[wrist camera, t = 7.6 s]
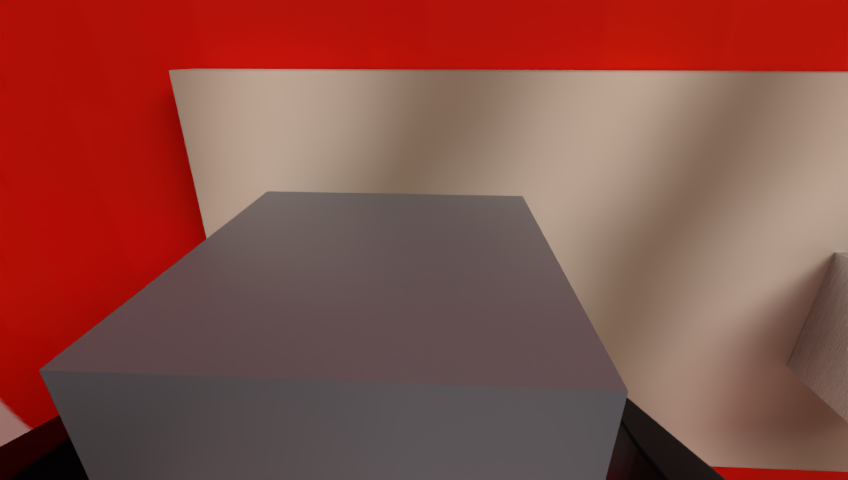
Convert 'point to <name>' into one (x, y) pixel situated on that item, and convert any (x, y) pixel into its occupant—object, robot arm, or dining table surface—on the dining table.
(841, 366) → the grey cube
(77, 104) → the dining table surface
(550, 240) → the board
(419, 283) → the gray matte cube
